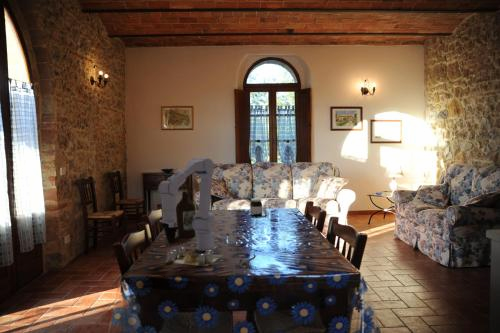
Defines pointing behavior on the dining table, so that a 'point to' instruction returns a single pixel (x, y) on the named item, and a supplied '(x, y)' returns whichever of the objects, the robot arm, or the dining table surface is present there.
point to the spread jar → (257, 207)
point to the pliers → (246, 262)
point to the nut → (191, 257)
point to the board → (183, 261)
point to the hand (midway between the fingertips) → (170, 241)
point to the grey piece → (172, 256)
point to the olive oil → (185, 216)
